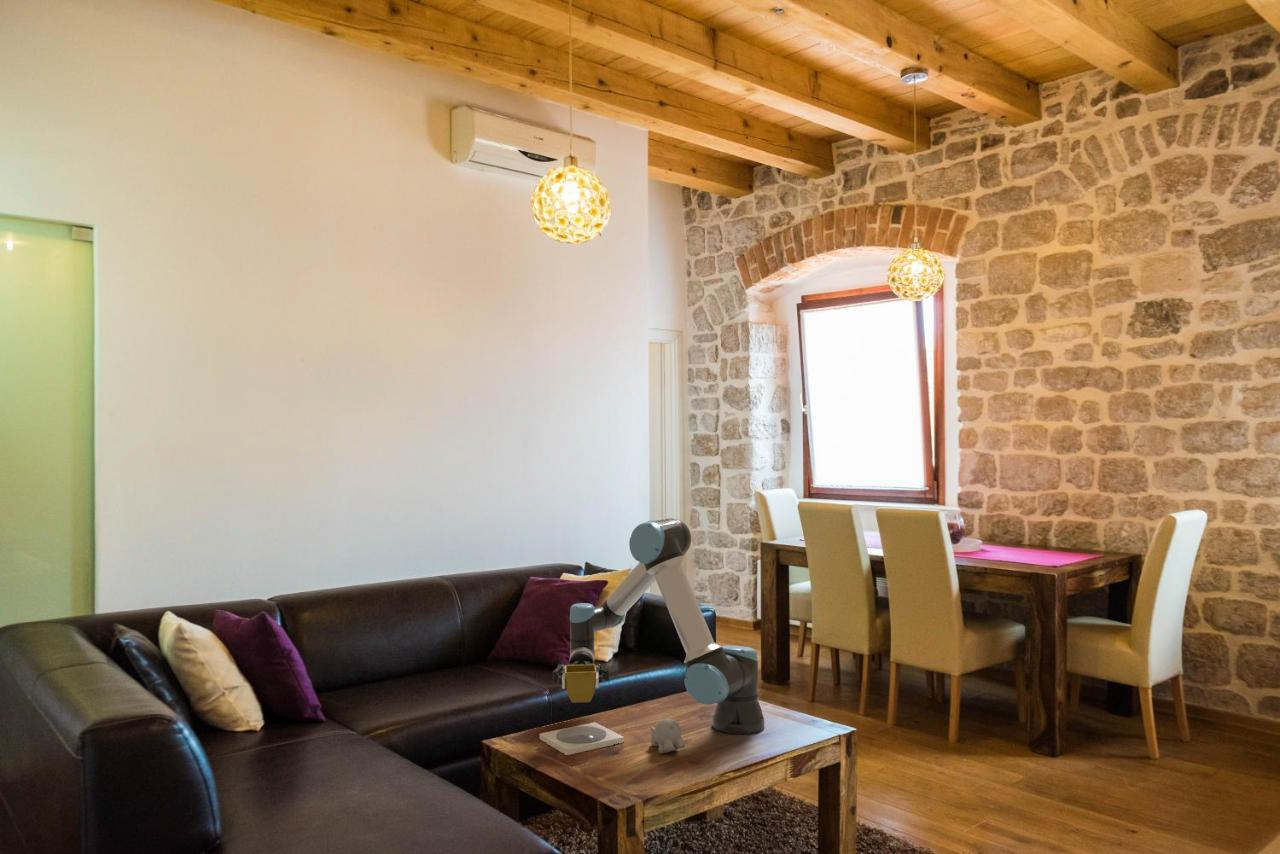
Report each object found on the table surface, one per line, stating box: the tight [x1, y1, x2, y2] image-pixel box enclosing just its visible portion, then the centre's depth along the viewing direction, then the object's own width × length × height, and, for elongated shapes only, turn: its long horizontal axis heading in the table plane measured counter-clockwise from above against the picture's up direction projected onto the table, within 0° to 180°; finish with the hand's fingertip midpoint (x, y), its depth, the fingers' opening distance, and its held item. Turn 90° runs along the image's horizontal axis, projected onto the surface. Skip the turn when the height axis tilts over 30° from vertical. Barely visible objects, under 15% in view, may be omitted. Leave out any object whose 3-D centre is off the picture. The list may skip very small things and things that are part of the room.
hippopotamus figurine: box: [650, 718, 686, 754], centre depth 241 cm, size 7×12×8 cm, turn 30°
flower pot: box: [564, 664, 597, 704], centre depth 250 cm, size 9×9×9 cm
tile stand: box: [539, 721, 625, 756], centre depth 249 cm, size 16×18×2 cm
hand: (580, 683), depth 245 cm, fingers closed on flower pot, 8 cm apart
